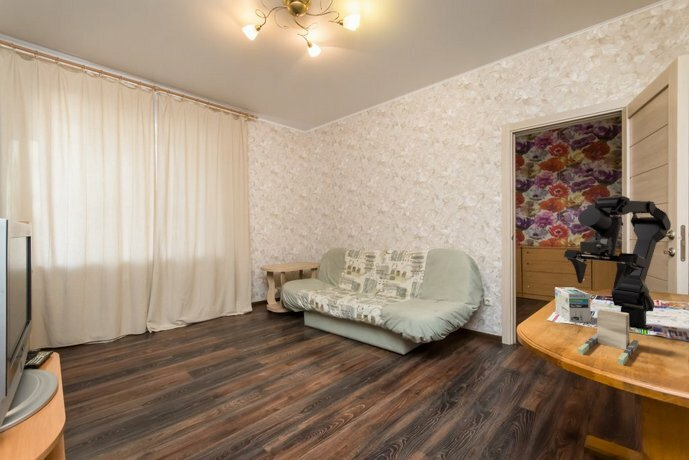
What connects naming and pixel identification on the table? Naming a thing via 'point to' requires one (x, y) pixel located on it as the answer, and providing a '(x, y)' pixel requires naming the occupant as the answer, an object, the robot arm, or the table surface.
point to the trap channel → (623, 356)
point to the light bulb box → (572, 304)
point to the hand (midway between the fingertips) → (596, 285)
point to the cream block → (613, 328)
